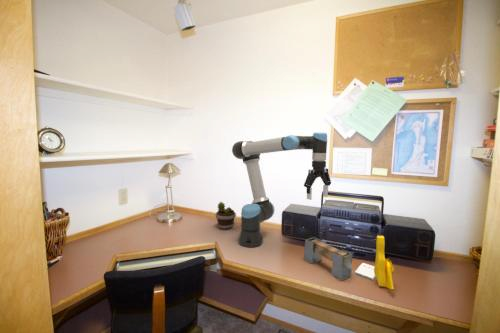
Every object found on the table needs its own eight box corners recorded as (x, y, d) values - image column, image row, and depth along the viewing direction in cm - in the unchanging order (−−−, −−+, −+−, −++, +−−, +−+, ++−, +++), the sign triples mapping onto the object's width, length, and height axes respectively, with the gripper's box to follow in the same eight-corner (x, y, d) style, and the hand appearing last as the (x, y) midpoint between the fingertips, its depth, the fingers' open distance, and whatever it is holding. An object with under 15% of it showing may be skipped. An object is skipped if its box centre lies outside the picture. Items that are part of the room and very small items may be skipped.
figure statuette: (398, 298, 96) (402, 246, 94) (376, 294, 99) (380, 243, 96) (387, 275, 113) (391, 231, 110) (369, 271, 115) (372, 228, 113)
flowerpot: (238, 224, 178) (238, 198, 176) (232, 232, 163) (232, 204, 161) (220, 222, 181) (220, 197, 179) (212, 230, 166) (212, 202, 164)
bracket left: (304, 259, 127) (305, 239, 125) (313, 256, 131) (313, 237, 129) (312, 264, 122) (313, 243, 121) (321, 260, 126) (322, 240, 125)
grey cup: (331, 275, 112) (332, 253, 111) (340, 270, 116) (342, 249, 115) (342, 280, 108) (343, 258, 106) (351, 276, 112) (352, 254, 110)
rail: (310, 249, 125) (310, 240, 124) (315, 248, 127) (315, 239, 127) (341, 265, 109) (342, 255, 109) (346, 263, 111) (347, 253, 111)
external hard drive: (354, 275, 113) (362, 265, 123) (372, 281, 108) (379, 270, 117) (354, 271, 113) (362, 262, 122) (373, 278, 108) (379, 267, 117)
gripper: (308, 161, 121) (307, 202, 123) (338, 160, 135) (336, 196, 137) (298, 160, 127) (296, 199, 129) (327, 159, 141) (326, 193, 143)
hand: (317, 197), depth 133 cm, fingers open, 13 cm apart
